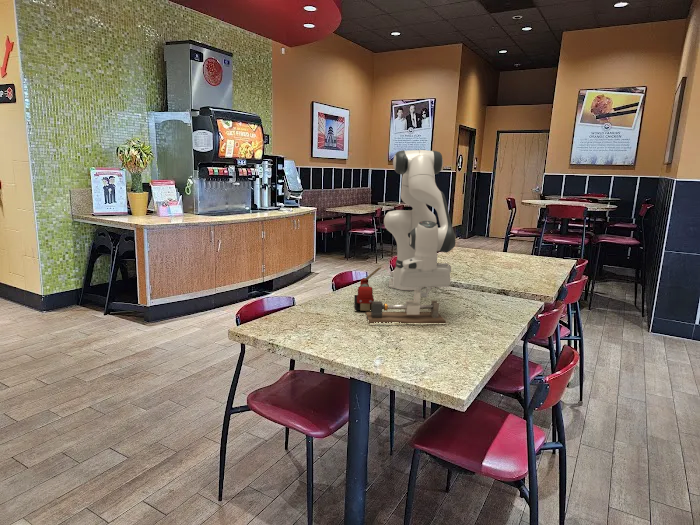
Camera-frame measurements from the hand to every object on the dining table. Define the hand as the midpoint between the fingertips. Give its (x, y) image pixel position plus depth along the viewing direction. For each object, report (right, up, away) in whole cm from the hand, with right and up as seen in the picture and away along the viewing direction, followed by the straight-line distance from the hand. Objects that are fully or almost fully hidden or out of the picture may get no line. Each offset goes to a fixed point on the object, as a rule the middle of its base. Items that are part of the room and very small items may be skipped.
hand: (423, 297), depth 183 cm
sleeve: (-4, -6, +1) cm, 8 cm away
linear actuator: (-7, -9, +1) cm, 12 cm away
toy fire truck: (-22, -6, +17) cm, 28 cm away
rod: (-8, -8, +1) cm, 11 cm away
